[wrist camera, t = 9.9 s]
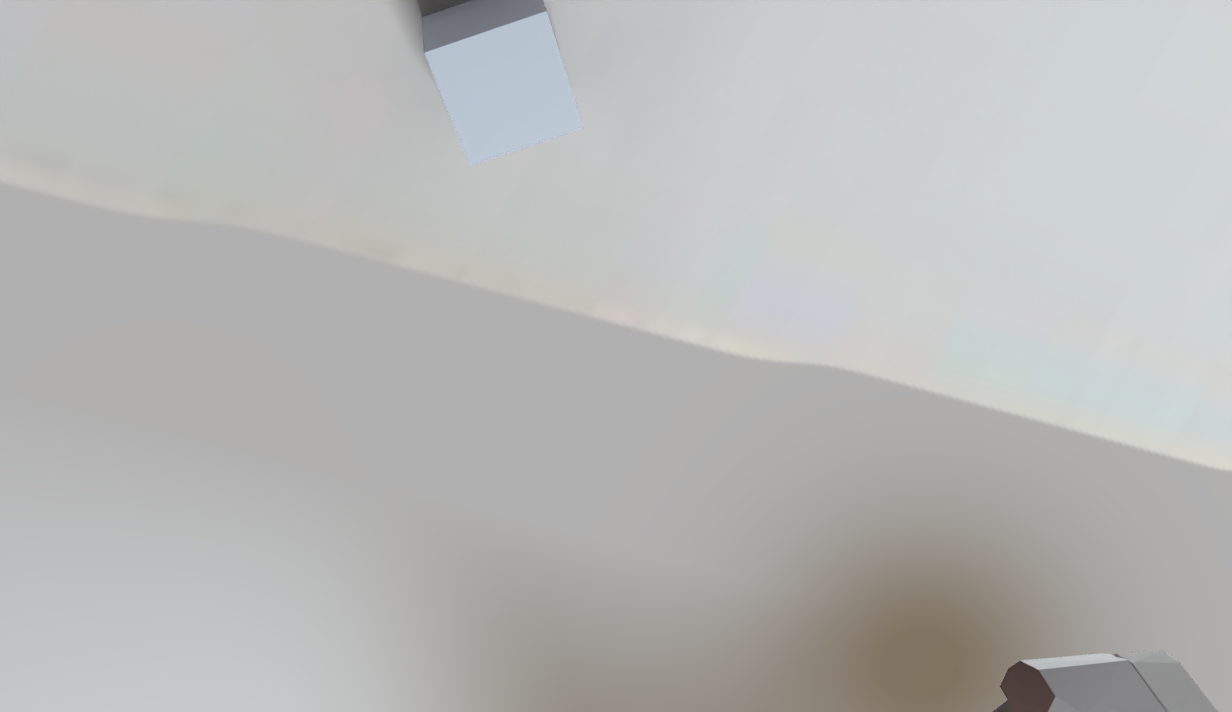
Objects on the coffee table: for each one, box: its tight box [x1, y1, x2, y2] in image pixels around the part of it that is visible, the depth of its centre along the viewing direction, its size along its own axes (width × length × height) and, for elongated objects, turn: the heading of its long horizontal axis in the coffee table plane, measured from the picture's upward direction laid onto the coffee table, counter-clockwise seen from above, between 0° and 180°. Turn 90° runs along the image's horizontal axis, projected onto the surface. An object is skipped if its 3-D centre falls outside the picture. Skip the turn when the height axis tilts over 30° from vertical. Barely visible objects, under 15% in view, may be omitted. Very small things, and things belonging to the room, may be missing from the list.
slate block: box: [422, 0, 584, 166], centre depth 35 cm, size 4×4×4 cm
